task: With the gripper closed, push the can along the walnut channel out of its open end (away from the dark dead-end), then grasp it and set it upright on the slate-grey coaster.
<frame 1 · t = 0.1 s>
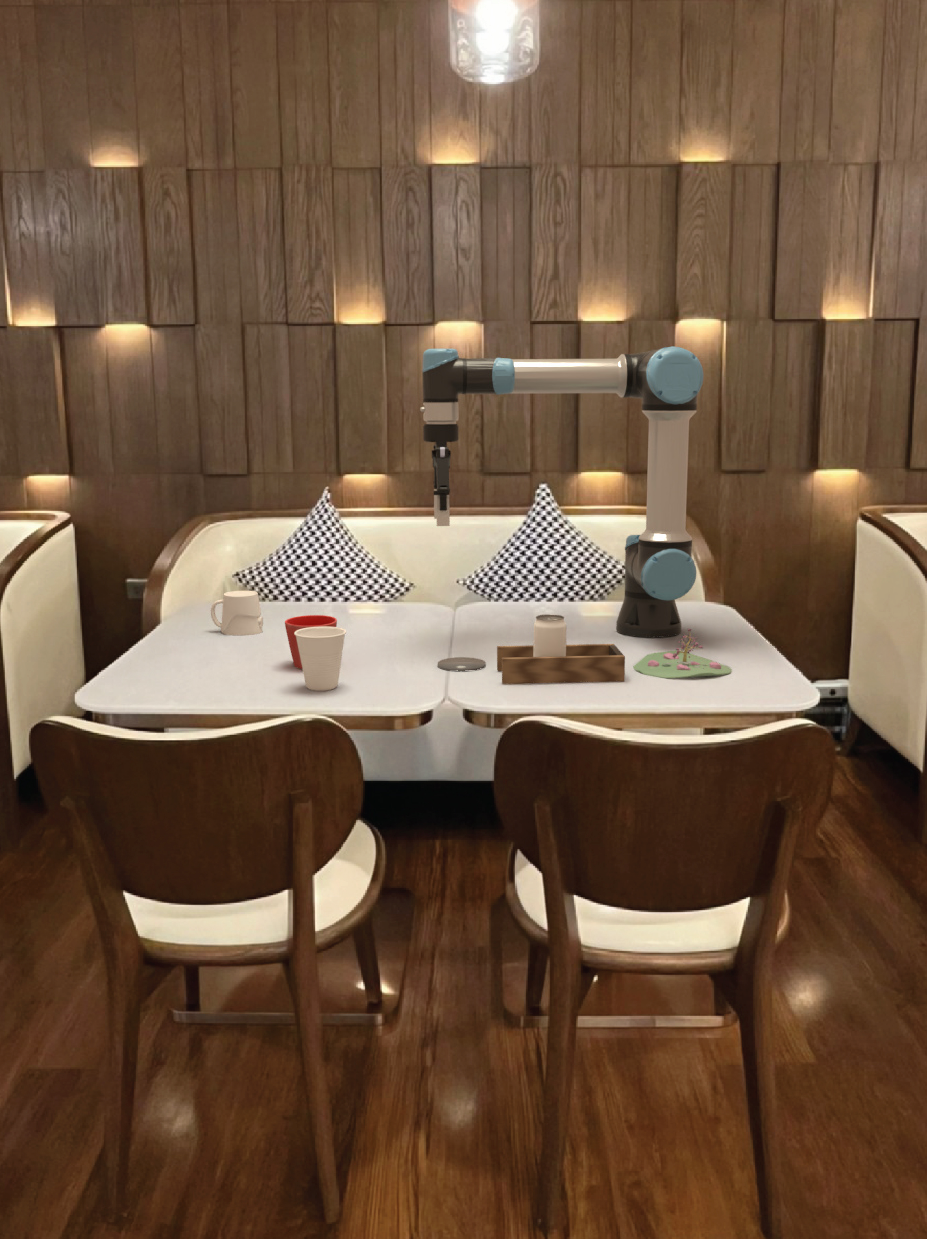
hand: (441, 522, 249), 28 cm above the table, fingers open, 13 cm apart
can: (549, 676, 230), resting in channel
cup: (322, 688, 222), on the table
plant: (678, 668, 239), on the table
channel: (559, 675, 230), on the table
mug: (237, 633, 273), on the table
flower pot: (312, 666, 240), on the table
coaster: (461, 665, 239), on the table
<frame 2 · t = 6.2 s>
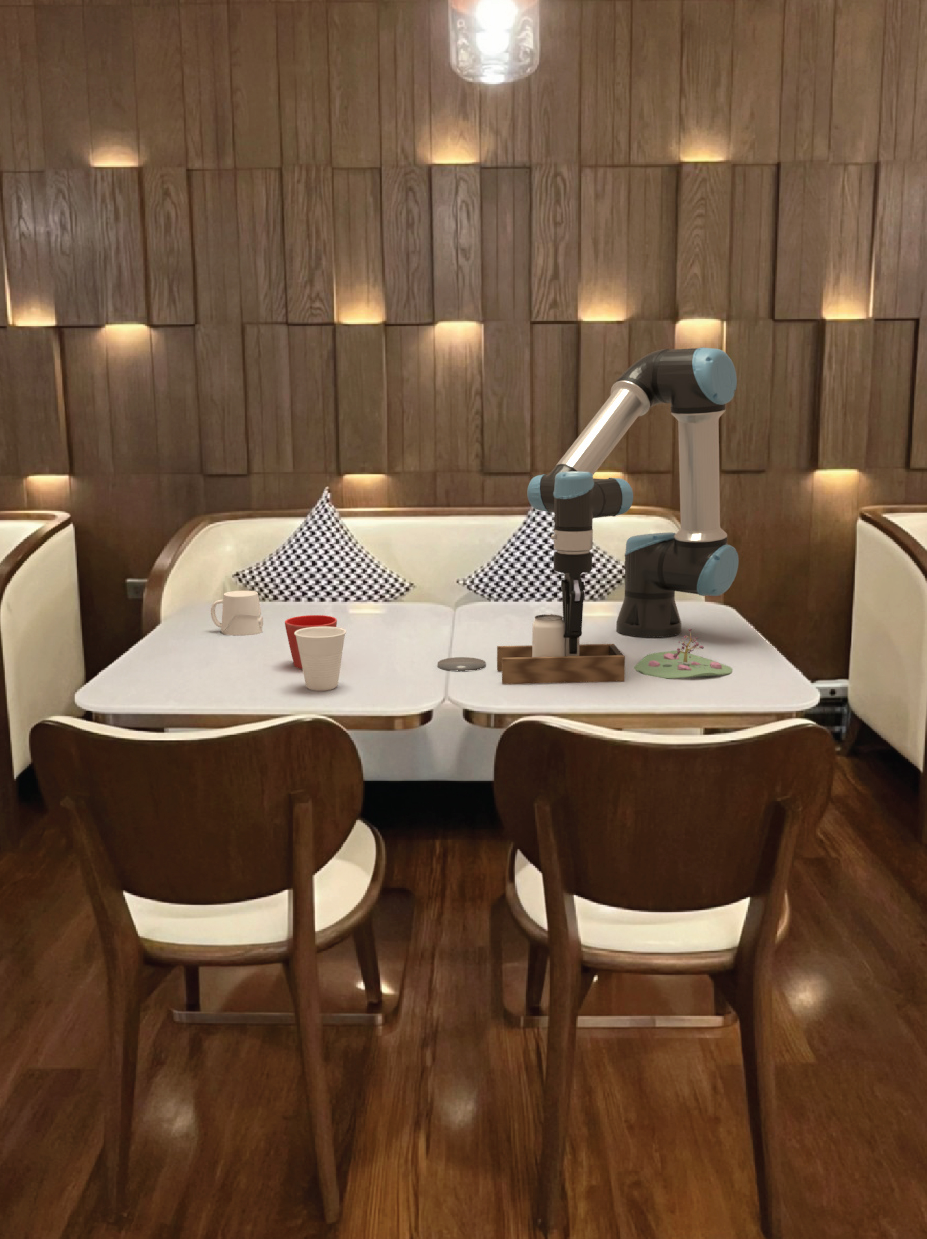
hand: (571, 668, 230), 2 cm above the table, fingers closed
can: (548, 676, 230), resting in channel, touching gripper
everything else where it was.
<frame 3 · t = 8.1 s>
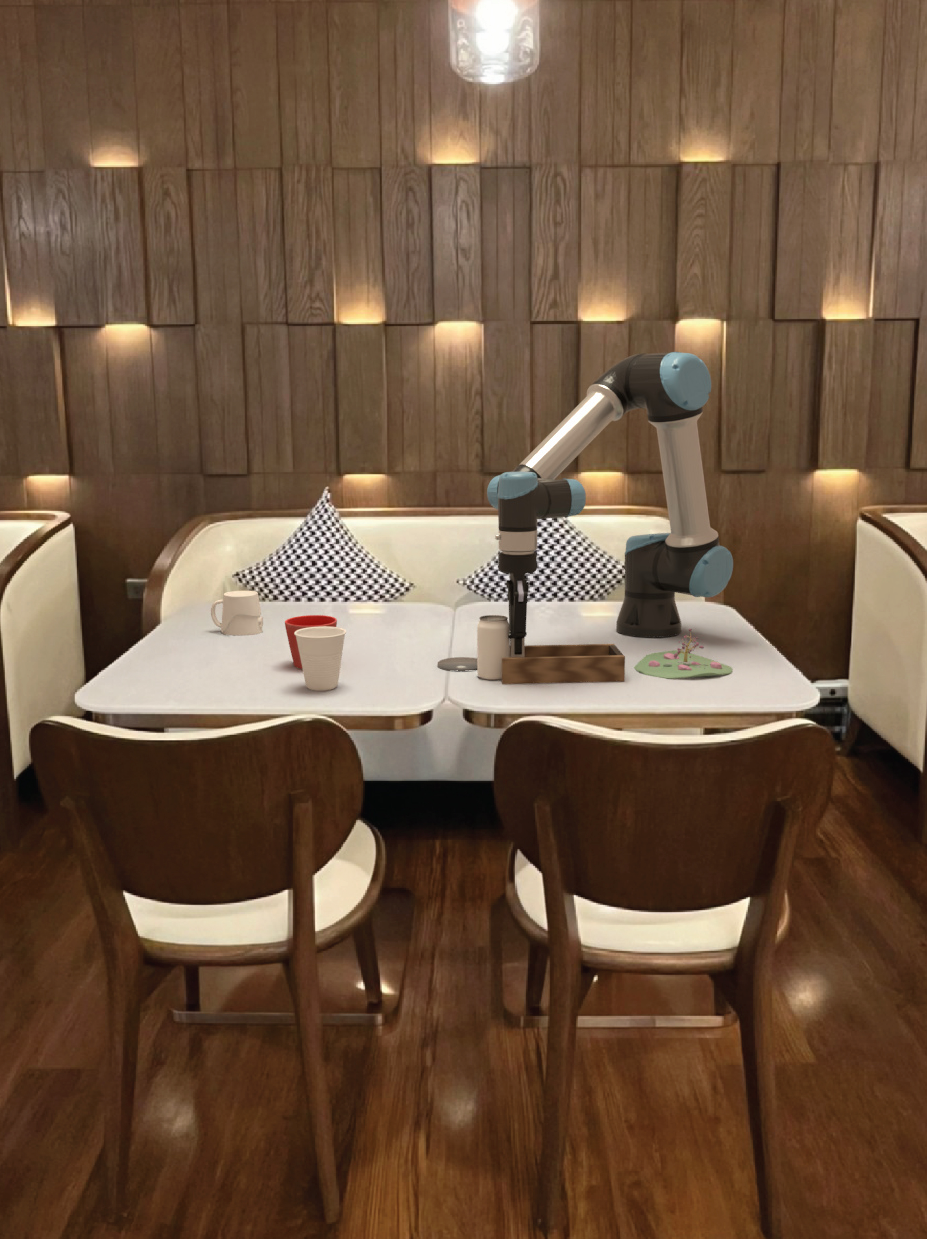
hand: (517, 668, 229), 2 cm above the table, fingers closed
can: (493, 677, 230), on the table, touching gripper
everything else where it was.
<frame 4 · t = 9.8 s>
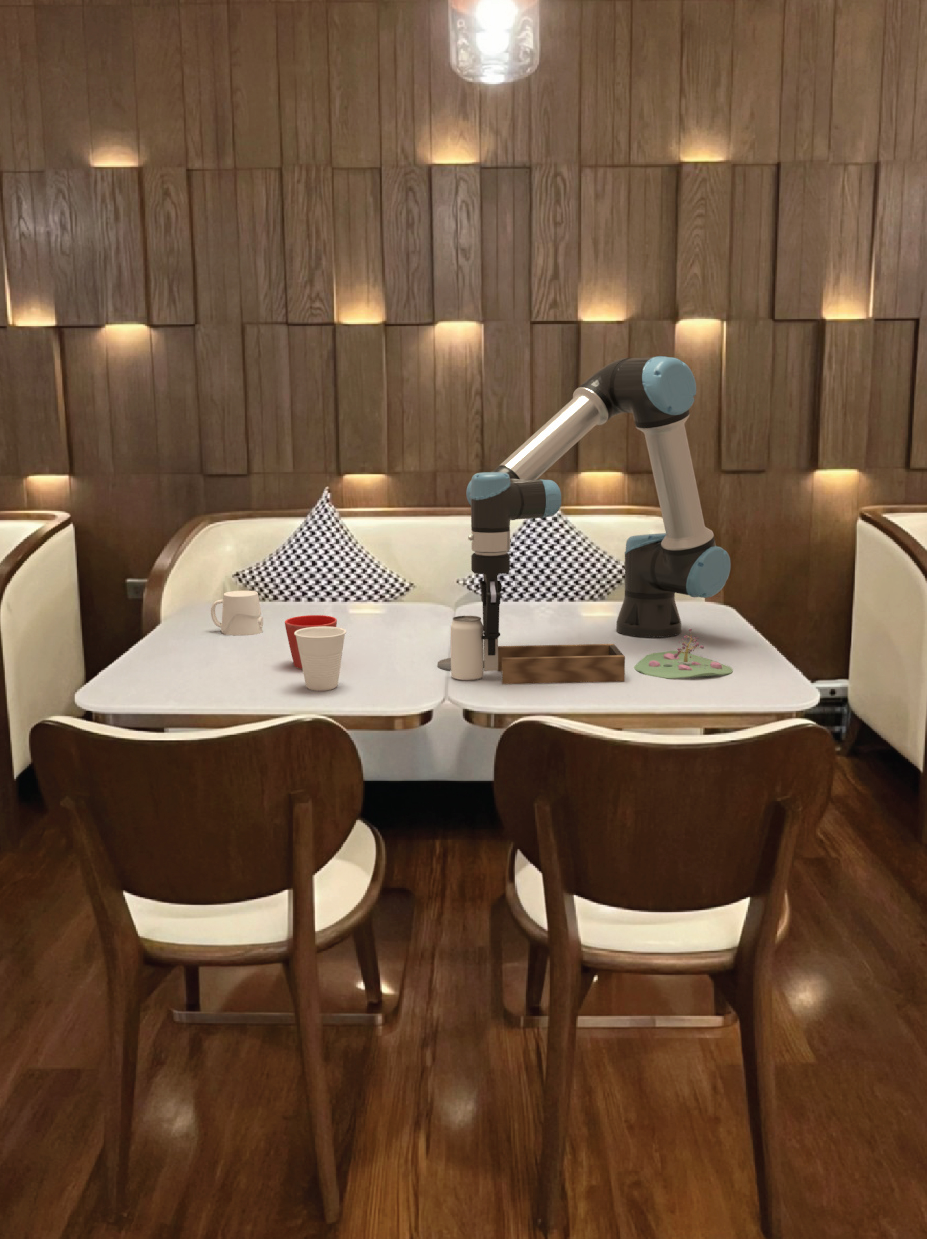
hand: (490, 669, 229), 2 cm above the table, fingers closed
can: (467, 678, 229), on the table, touching gripper
everything else where it was.
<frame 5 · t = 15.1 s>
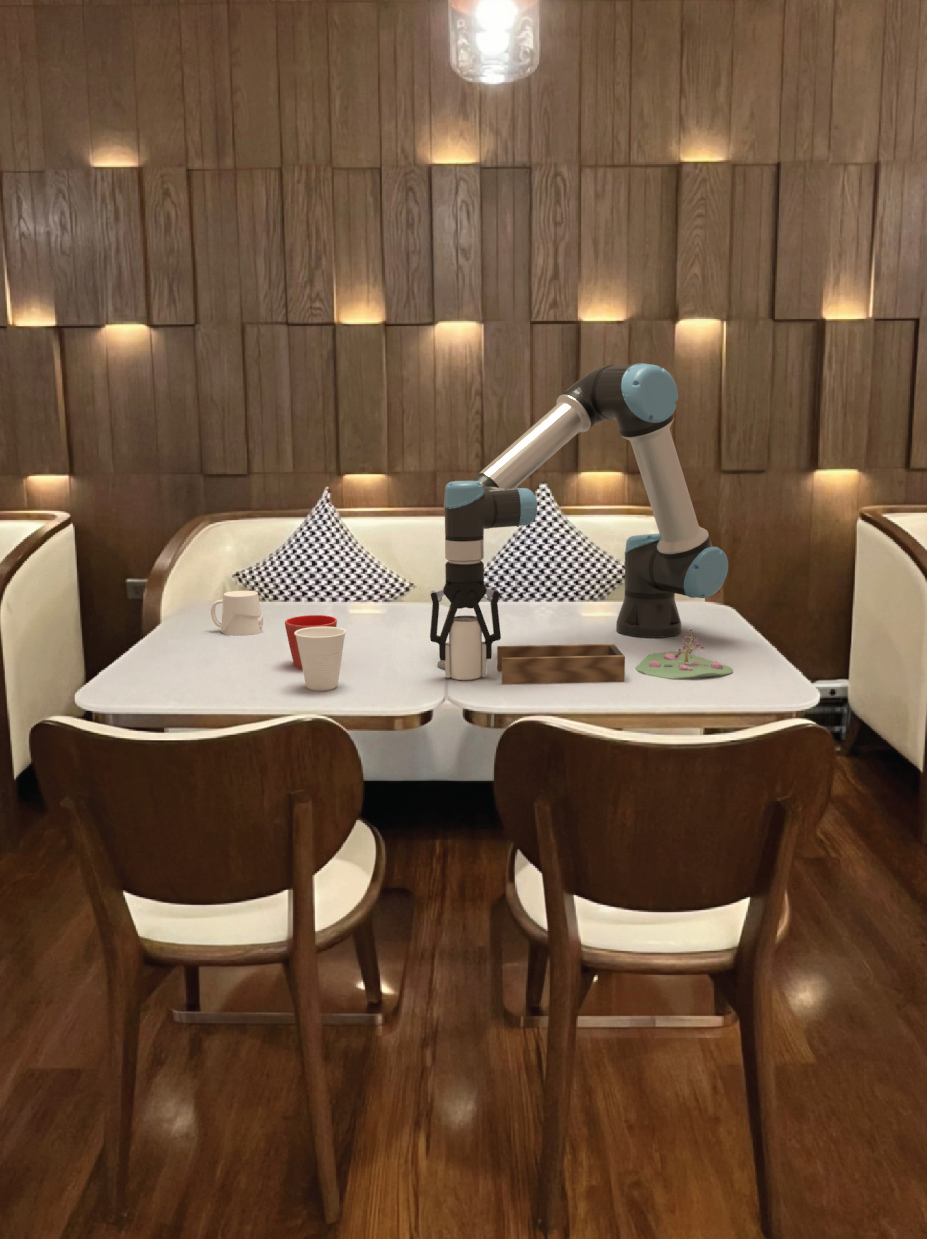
hand: (465, 675, 229), 0 cm above the table, fingers closed on can, 7 cm apart
can: (465, 678, 229), on the table, touching gripper
everything else where it was.
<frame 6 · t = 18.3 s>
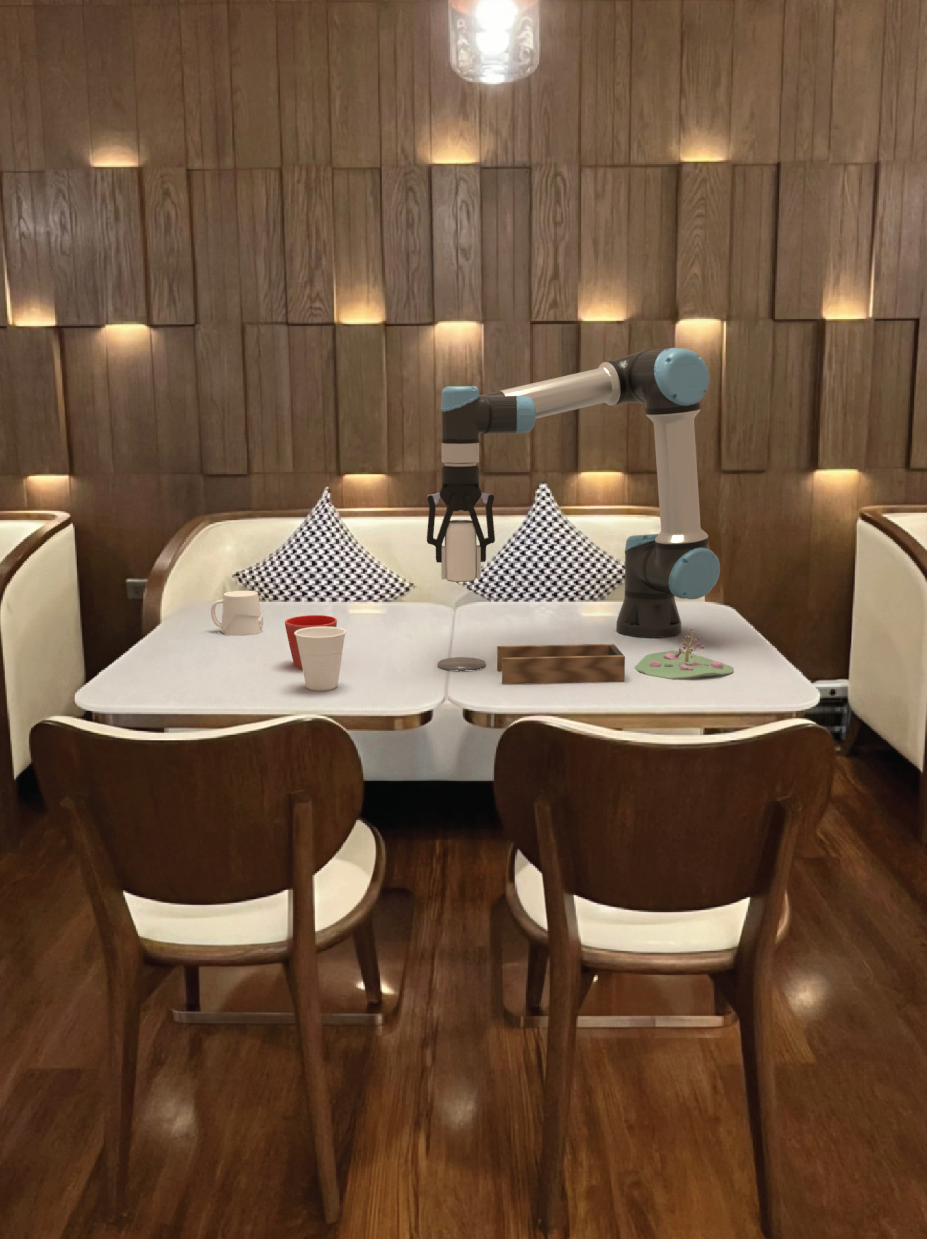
hand: (460, 577, 235), 18 cm above the table, fingers closed on can, 6 cm apart
can: (460, 580, 236), point 18 cm above the table, touching gripper
everything else where it was.
when the fingers open (2 cm above the table, at t = 21.4 s): can drops 1 cm, resting on coaster.
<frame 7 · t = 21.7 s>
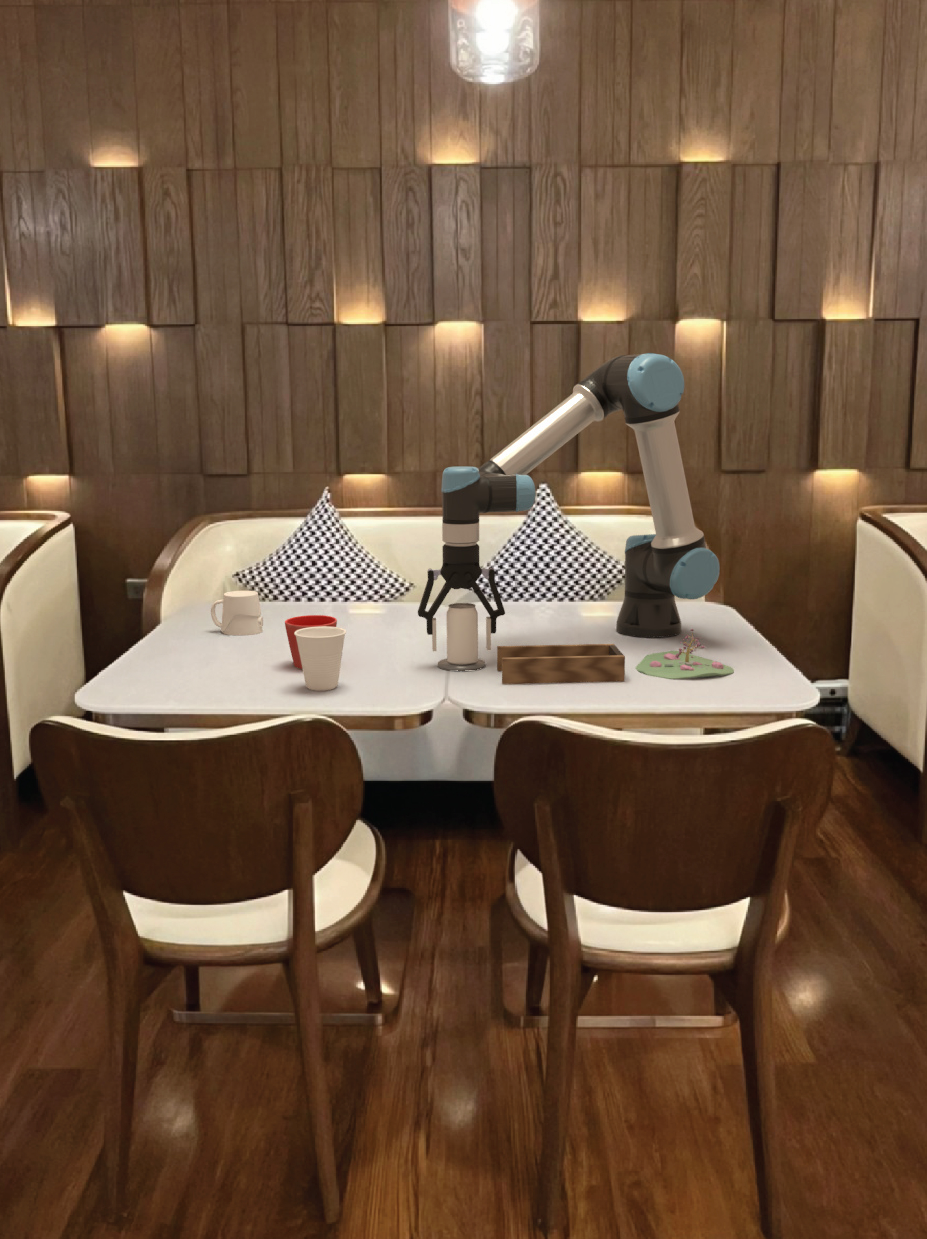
hand: (461, 649, 238), 3 cm above the table, fingers open, 10 cm apart
can: (462, 662, 239), resting on coaster
everything else where it was.
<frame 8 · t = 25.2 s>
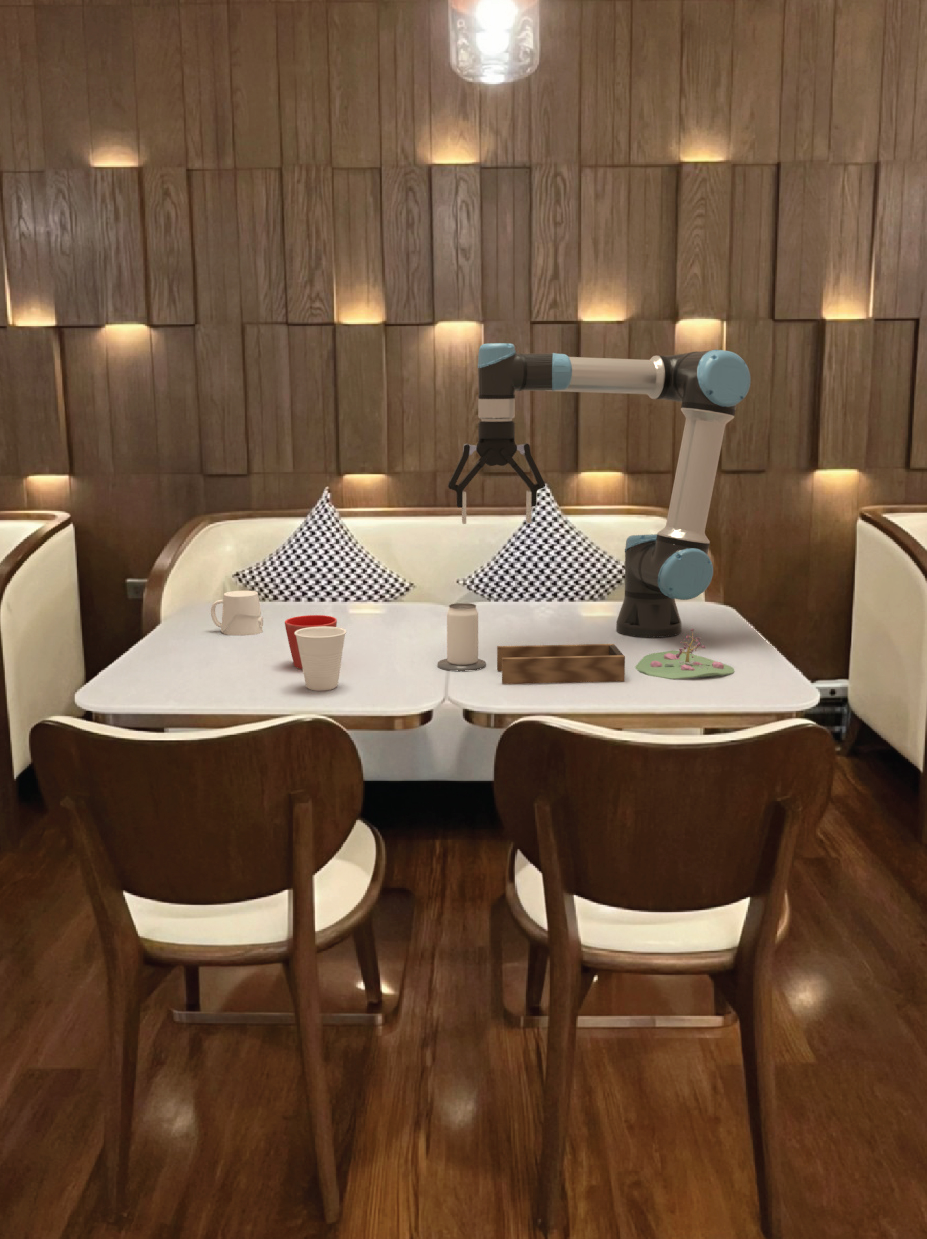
hand: (496, 522, 241), 29 cm above the table, fingers open, 13 cm apart
nothing on the table moved.
at the end: can 0.5 cm from the coaster (horizontally); can tilted 0°; the gripper is holding nothing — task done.
